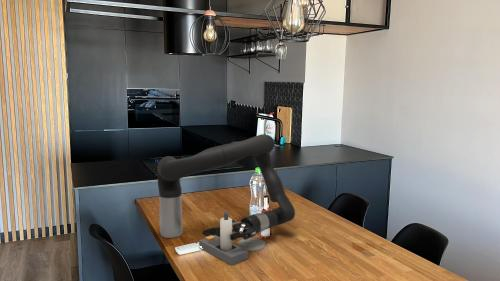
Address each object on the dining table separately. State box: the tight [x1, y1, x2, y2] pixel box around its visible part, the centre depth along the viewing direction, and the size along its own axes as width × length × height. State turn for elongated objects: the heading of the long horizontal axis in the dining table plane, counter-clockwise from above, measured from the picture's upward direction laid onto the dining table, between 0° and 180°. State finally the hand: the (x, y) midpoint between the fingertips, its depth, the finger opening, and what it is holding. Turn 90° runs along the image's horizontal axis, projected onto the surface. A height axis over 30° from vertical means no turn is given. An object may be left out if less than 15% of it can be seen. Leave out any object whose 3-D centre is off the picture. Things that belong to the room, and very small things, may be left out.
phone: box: [201, 226, 237, 242], centre depth 167 cm, size 8×1×15 cm
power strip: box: [198, 235, 249, 266], centre depth 151 cm, size 20×8×4 cm, turn 42°
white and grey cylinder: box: [219, 210, 233, 252], centre depth 148 cm, size 4×4×17 cm
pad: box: [237, 237, 266, 252], centre depth 158 cm, size 11×11×1 cm
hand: (223, 234), depth 148 cm, fingers open, 8 cm apart
